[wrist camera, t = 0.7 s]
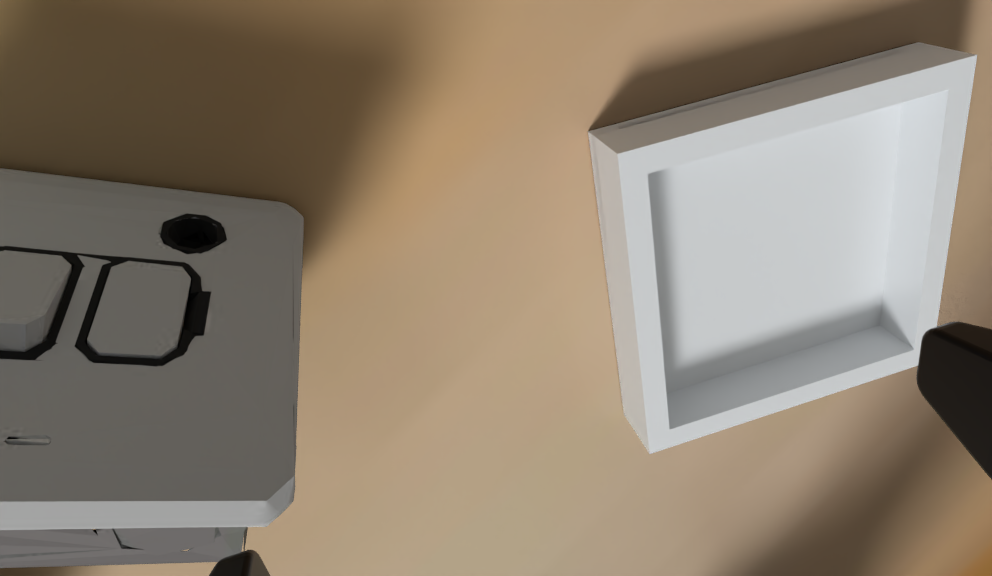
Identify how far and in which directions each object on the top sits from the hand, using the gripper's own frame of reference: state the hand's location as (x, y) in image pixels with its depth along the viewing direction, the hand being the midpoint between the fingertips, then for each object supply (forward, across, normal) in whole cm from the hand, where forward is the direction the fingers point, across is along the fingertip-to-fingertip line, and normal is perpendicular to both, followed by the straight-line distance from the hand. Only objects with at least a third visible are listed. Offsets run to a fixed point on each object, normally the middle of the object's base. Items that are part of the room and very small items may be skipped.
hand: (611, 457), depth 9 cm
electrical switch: (+13, +9, +1) cm, 16 cm away
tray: (+13, -10, +6) cm, 17 cm away
